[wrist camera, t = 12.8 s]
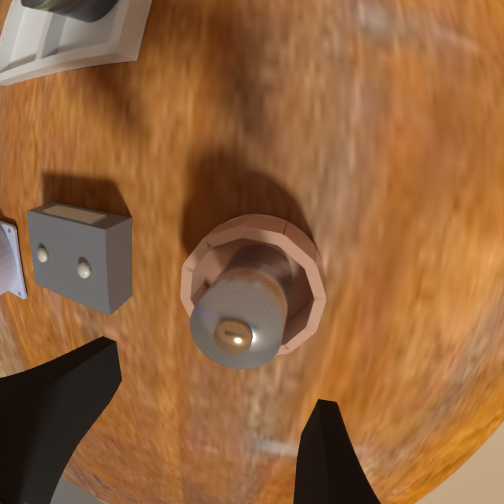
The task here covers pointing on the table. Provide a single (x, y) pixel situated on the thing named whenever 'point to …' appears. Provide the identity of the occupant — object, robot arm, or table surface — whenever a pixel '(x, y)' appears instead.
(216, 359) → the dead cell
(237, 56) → the table surface
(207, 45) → the table surface
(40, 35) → the tray
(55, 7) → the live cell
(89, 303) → the grey box with knobs
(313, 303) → the pink bowl
